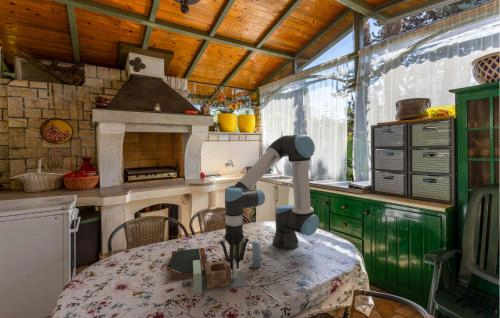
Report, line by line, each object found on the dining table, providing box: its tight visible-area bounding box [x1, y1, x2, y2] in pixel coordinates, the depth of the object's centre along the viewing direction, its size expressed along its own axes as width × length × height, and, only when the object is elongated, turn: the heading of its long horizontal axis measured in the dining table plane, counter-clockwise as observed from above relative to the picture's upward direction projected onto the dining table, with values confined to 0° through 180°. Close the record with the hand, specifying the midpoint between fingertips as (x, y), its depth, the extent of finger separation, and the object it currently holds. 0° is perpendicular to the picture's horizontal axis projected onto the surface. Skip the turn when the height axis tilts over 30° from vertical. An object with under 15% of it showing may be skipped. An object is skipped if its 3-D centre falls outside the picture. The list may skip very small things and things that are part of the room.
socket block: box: [205, 260, 232, 289], centre depth 108 cm, size 10×10×6 cm
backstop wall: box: [192, 260, 202, 294], centre depth 106 cm, size 3×12×8 cm, turn 15°
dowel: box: [251, 240, 262, 269], centre depth 122 cm, size 4×4×12 cm
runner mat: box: [201, 270, 249, 294], centre depth 109 cm, size 20×13×1 cm, turn 105°
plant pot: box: [233, 239, 243, 257], centre depth 135 cm, size 9×9×9 cm
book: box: [169, 247, 208, 281], centre depth 123 cm, size 17×4×25 cm
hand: (234, 276), depth 110 cm, fingers closed
